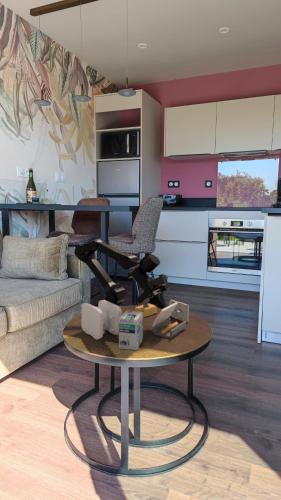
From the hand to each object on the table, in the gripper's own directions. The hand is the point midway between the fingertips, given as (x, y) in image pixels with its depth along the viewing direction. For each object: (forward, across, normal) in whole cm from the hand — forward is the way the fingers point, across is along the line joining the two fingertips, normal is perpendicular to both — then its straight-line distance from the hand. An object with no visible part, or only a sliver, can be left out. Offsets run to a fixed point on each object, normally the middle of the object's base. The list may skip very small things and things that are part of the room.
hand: (166, 310), depth 133 cm
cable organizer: (-8, -17, +20) cm, 28 cm away
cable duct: (+7, 0, +5) cm, 9 cm away
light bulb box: (+3, -20, +9) cm, 22 cm away
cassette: (+5, +18, +8) cm, 20 cm away
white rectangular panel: (+1, 0, +1) cm, 2 cm away
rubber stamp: (-6, +15, +19) cm, 25 cm away
